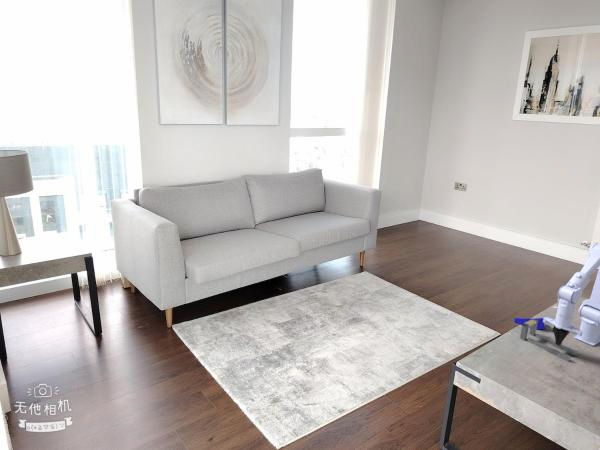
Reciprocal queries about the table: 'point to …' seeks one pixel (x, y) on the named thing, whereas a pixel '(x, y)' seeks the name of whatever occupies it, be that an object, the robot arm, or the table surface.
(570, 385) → the table surface
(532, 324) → the bracket
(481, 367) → the table surface
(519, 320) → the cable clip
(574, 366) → the table surface
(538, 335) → the guide channel
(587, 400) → the table surface
